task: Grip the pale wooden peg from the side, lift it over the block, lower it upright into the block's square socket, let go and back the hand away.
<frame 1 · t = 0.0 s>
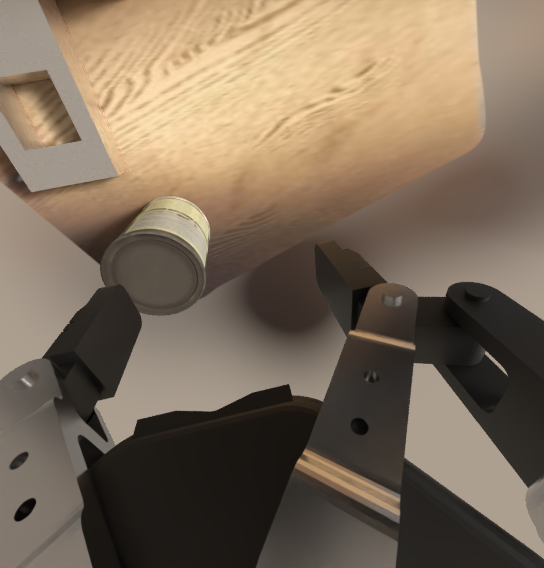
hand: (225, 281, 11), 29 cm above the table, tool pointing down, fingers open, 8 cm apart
coffee can: (176, 229, 39), on the table
block: (20, 42, 26), on the table
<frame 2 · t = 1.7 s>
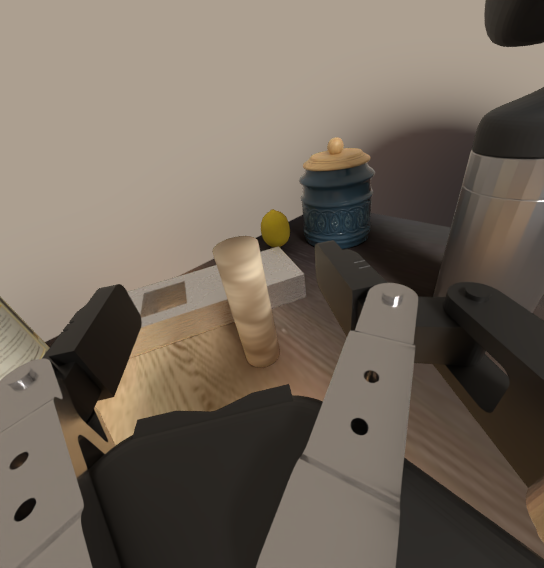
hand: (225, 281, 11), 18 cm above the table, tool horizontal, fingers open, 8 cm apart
coffee can: (31, 413, 28), on the table
lemon: (278, 249, 51), on the table
canister: (336, 236, 52), on the table
peg: (262, 353, 30), on the table
block: (214, 306, 39), on the table
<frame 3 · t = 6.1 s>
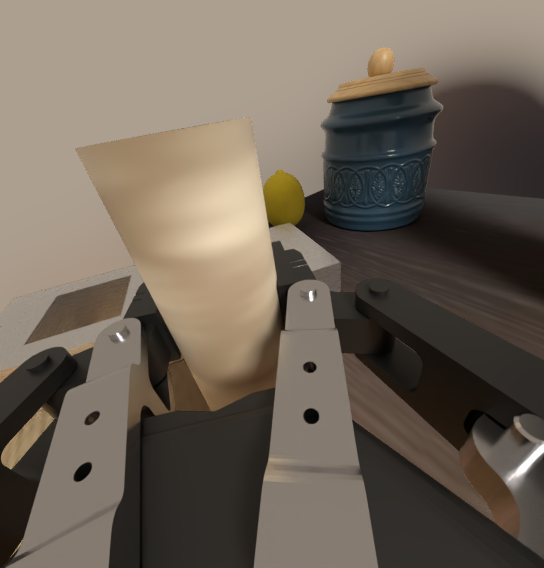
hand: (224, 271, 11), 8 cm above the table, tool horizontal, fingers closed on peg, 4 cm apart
lemon: (287, 232, 35), on the table
canister: (370, 215, 36), on the table
peg: (264, 426, 14), on the table, touching gripper
block: (182, 318, 23), on the table
when the fingers open (10 cm above the table, at t = 11.4 s): peg drops 1 cm, resting in block.
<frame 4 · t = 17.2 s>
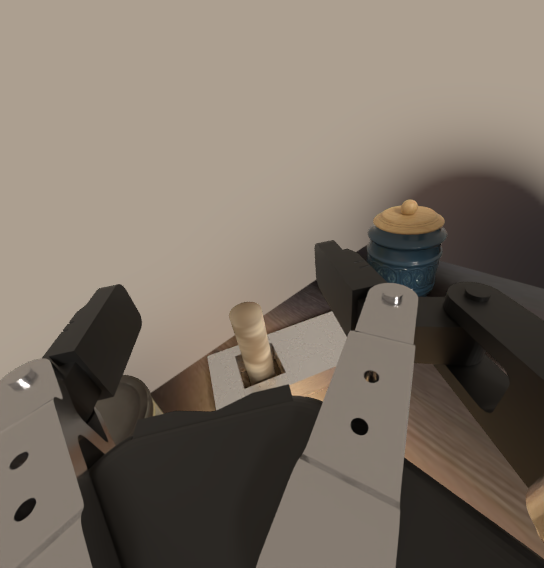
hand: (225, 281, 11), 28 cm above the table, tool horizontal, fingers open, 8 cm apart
coffee can: (155, 488, 29), on the table
canister: (396, 284, 54), on the table
peg: (264, 381, 39), resting in block
block: (299, 366, 40), on the table
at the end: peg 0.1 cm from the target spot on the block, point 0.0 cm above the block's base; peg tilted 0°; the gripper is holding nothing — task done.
